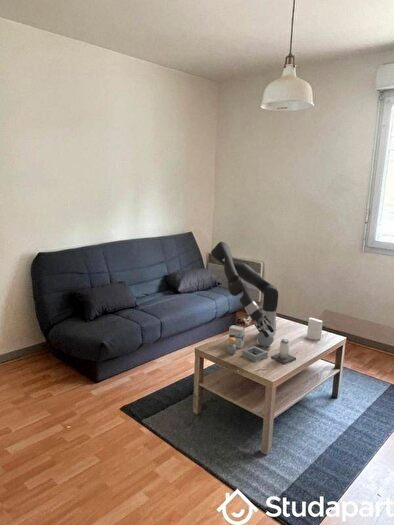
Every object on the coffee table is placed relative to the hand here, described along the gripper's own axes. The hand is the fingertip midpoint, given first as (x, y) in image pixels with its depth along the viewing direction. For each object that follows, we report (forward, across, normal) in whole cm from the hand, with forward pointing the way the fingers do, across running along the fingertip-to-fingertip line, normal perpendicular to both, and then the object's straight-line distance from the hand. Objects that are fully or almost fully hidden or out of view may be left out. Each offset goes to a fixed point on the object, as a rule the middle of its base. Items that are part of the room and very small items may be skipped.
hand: (270, 334), depth 223 cm
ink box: (-5, -2, -25) cm, 26 cm away
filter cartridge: (+14, -1, -2) cm, 15 cm away
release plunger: (-8, +9, -19) cm, 23 cm away
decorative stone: (+5, -12, -14) cm, 19 cm away
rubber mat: (+15, -1, -2) cm, 16 cm away
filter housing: (+2, +7, -17) cm, 18 cm away
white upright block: (+20, -44, +2) cm, 49 cm away
